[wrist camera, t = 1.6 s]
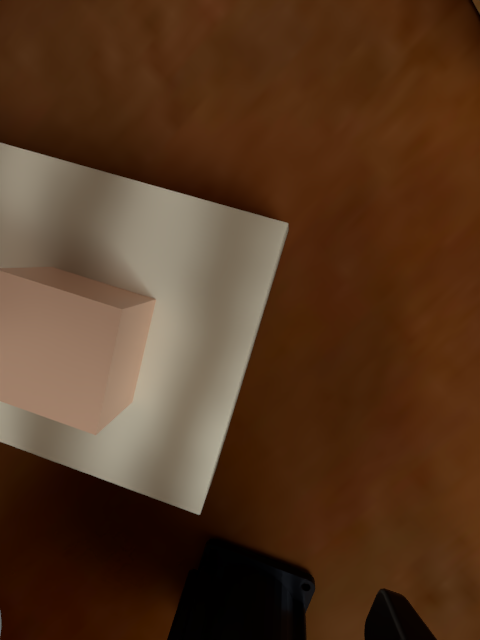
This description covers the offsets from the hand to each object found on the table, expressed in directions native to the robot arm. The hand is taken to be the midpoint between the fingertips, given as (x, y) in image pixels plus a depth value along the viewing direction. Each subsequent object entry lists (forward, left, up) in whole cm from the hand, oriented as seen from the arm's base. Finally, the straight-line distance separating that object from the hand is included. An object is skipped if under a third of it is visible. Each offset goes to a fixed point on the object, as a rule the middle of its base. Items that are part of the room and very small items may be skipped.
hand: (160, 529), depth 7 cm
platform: (+8, 0, -11) cm, 13 cm away
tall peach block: (+7, 0, -8) cm, 10 cm away
